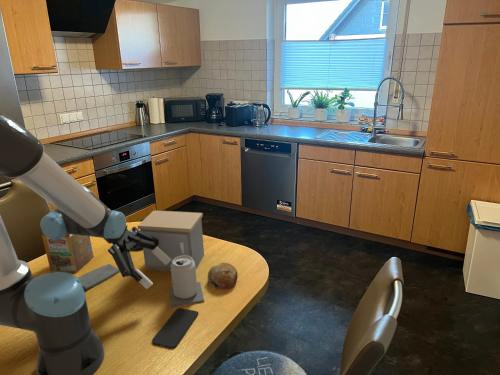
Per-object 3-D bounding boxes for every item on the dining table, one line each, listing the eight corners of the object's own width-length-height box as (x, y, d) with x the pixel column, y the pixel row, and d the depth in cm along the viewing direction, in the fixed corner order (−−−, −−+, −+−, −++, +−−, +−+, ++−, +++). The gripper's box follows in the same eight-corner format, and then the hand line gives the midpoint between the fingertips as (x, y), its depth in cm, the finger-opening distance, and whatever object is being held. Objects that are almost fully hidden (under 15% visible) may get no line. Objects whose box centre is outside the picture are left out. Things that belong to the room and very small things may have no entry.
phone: (200, 311, 110) (174, 347, 96) (200, 314, 110) (175, 350, 96) (177, 307, 112) (149, 341, 98) (177, 309, 112) (150, 344, 99)
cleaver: (41, 318, 110) (40, 312, 109) (24, 307, 115) (23, 301, 114) (123, 271, 133) (122, 266, 132) (106, 264, 138) (105, 259, 137)
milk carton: (93, 257, 142) (84, 211, 135) (77, 272, 132) (66, 224, 125) (68, 255, 144) (58, 210, 137) (50, 270, 134) (38, 222, 127)
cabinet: (193, 275, 128) (189, 230, 122) (142, 270, 132) (136, 226, 126) (205, 254, 141) (202, 213, 135) (158, 251, 145) (153, 210, 139)
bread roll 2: (121, 253, 145) (119, 245, 144) (126, 242, 153) (124, 234, 152) (148, 251, 146) (147, 242, 145) (152, 241, 154) (151, 233, 153)
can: (169, 293, 118) (165, 260, 114) (189, 283, 123) (185, 251, 119) (182, 303, 113) (178, 269, 109) (202, 293, 117) (199, 259, 113)
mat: (204, 301, 114) (204, 299, 114) (171, 307, 112) (170, 305, 112) (200, 283, 124) (200, 281, 123) (169, 288, 121) (169, 286, 121)
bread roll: (206, 291, 125) (199, 278, 120) (219, 266, 132) (213, 252, 126) (232, 298, 121) (226, 285, 116) (244, 272, 128) (239, 258, 122)
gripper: (124, 217, 128) (168, 259, 130) (78, 253, 105) (133, 304, 107) (136, 204, 125) (182, 247, 127) (92, 238, 102) (148, 290, 104)
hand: (159, 273), depth 117 cm, fingers open, 13 cm apart
